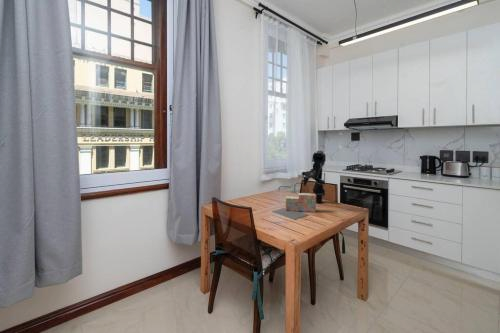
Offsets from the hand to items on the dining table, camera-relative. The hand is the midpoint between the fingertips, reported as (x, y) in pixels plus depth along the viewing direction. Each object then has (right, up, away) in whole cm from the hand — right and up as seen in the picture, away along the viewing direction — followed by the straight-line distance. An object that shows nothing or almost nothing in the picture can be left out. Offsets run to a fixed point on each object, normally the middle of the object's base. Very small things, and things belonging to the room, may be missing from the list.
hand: (308, 188), depth 184 cm
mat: (-16, -17, -12) cm, 26 cm away
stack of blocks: (-8, -16, -6) cm, 18 cm away
